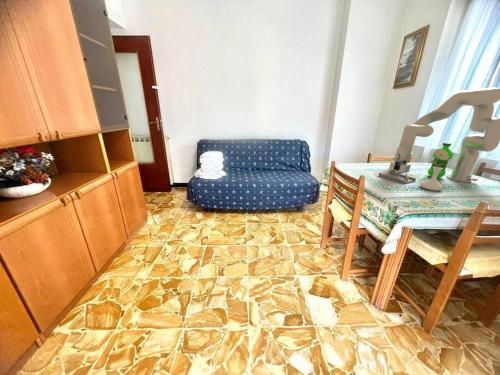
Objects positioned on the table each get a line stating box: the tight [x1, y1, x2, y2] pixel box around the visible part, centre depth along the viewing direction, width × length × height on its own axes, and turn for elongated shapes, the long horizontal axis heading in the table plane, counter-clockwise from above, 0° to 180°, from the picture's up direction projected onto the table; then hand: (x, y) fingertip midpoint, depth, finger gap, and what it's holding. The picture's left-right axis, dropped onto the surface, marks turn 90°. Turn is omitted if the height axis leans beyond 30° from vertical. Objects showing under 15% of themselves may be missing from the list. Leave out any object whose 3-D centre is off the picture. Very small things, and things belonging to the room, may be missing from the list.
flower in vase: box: [419, 148, 449, 191], centre depth 126 cm, size 13×11×25 cm
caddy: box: [378, 170, 417, 185], centre depth 146 cm, size 18×13×4 cm
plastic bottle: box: [427, 142, 454, 179], centre depth 147 cm, size 10×10×25 cm
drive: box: [388, 160, 412, 174], centre depth 144 cm, size 10×6×6 cm, turn 26°
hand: (398, 169), depth 145 cm, fingers closed on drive, 6 cm apart
